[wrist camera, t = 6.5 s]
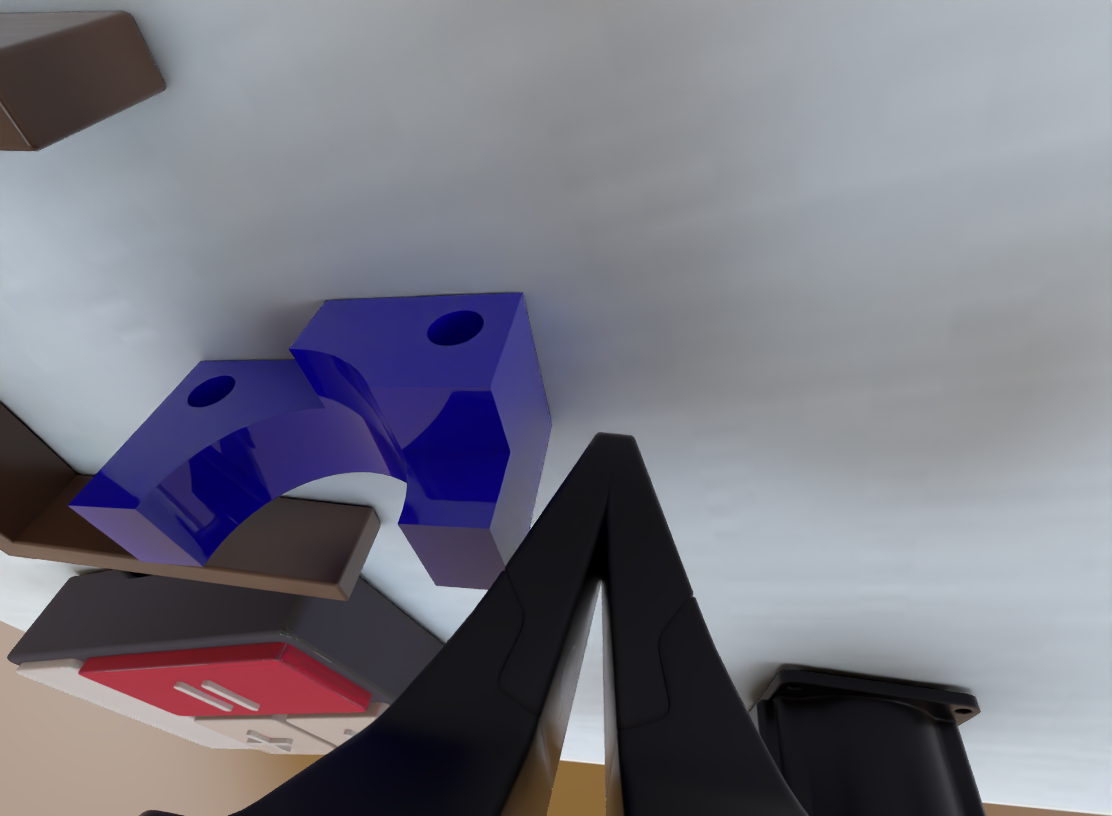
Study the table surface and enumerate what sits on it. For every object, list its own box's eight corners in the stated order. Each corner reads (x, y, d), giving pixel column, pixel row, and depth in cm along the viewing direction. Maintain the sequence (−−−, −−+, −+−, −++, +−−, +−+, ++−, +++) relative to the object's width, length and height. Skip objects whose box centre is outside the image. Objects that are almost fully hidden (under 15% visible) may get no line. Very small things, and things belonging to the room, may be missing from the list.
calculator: (461, 766, 23) (207, 761, 28) (482, 659, 26) (249, 672, 31) (273, 658, 16) (-18, 679, 21) (332, 530, 19) (65, 575, 24)
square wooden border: (132, 9, 8) (-29, 57, 6) (382, 525, 17) (348, 603, 15) (-456, 21, 9) (-724, 61, 7) (71, 489, 18) (8, 555, 17)
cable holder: (522, 292, 10) (463, 465, 7) (552, 424, 12) (515, 591, 10) (158, 307, 12) (-4, 451, 9) (247, 420, 14) (141, 562, 11)
